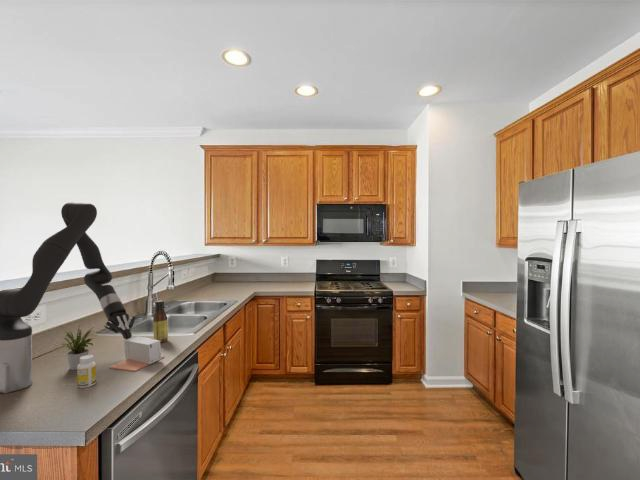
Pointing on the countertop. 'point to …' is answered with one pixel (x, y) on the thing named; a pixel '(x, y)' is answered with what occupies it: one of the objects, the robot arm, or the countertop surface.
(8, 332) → the robot arm
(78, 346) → the house plant
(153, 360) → the skincare box
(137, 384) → the countertop surface
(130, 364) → the plate
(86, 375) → the supplement bottle
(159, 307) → the sauce bottle
